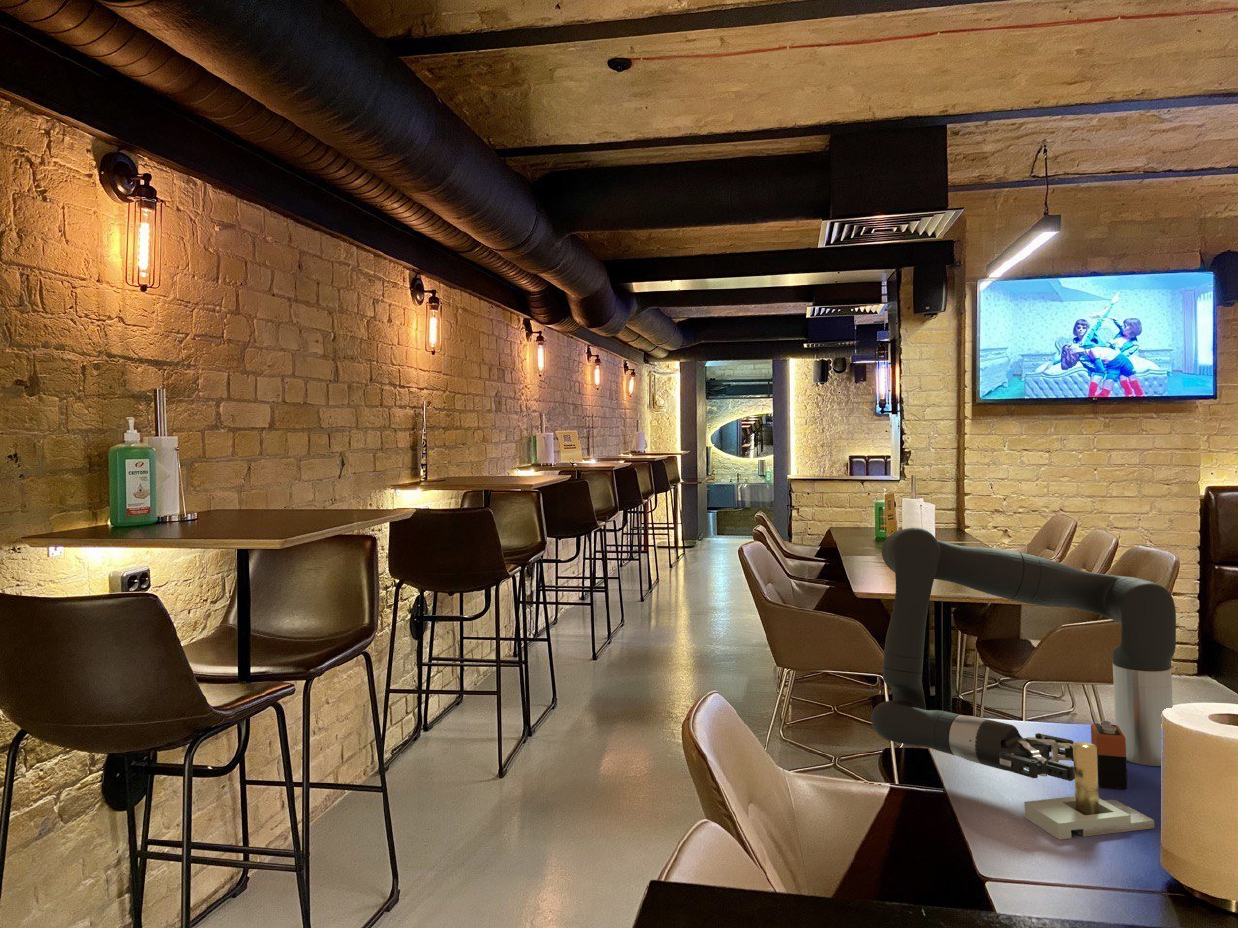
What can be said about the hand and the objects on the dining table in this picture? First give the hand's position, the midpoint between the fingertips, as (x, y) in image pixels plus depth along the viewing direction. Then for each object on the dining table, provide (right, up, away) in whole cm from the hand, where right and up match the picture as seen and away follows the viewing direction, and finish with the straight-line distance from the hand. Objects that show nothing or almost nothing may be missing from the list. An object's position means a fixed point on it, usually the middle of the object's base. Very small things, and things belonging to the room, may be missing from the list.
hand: (1085, 766), depth 127 cm
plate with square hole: (-2, -9, 0) cm, 9 cm away
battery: (+13, -8, +15) cm, 21 cm away
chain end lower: (+2, -9, 0) cm, 9 cm away
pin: (0, -9, 0) cm, 9 cm away
